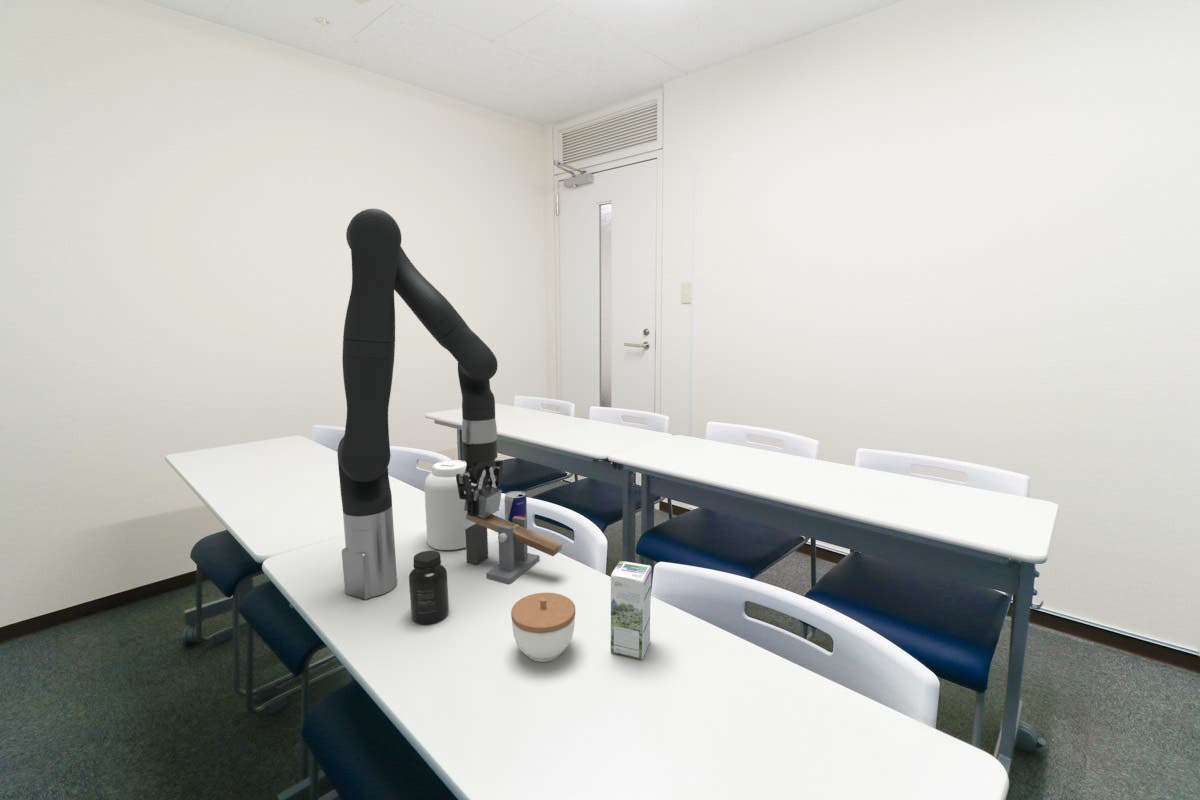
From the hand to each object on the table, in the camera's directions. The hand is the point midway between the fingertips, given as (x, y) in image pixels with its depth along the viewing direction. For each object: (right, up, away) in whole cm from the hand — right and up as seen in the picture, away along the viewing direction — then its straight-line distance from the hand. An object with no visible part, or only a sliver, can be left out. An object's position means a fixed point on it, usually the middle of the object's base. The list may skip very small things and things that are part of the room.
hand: (481, 510), depth 121 cm
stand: (+4, -12, +1) cm, 13 cm away
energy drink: (+6, -10, +14) cm, 18 cm away
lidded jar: (+17, -18, -30) cm, 38 cm away
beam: (+7, -4, -3) cm, 9 cm away
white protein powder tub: (-10, -10, +13) cm, 20 cm away
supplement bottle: (-5, -16, -19) cm, 25 cm away
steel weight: (0, 0, 0) cm, 0 cm away
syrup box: (+32, -18, -29) cm, 46 cm away
